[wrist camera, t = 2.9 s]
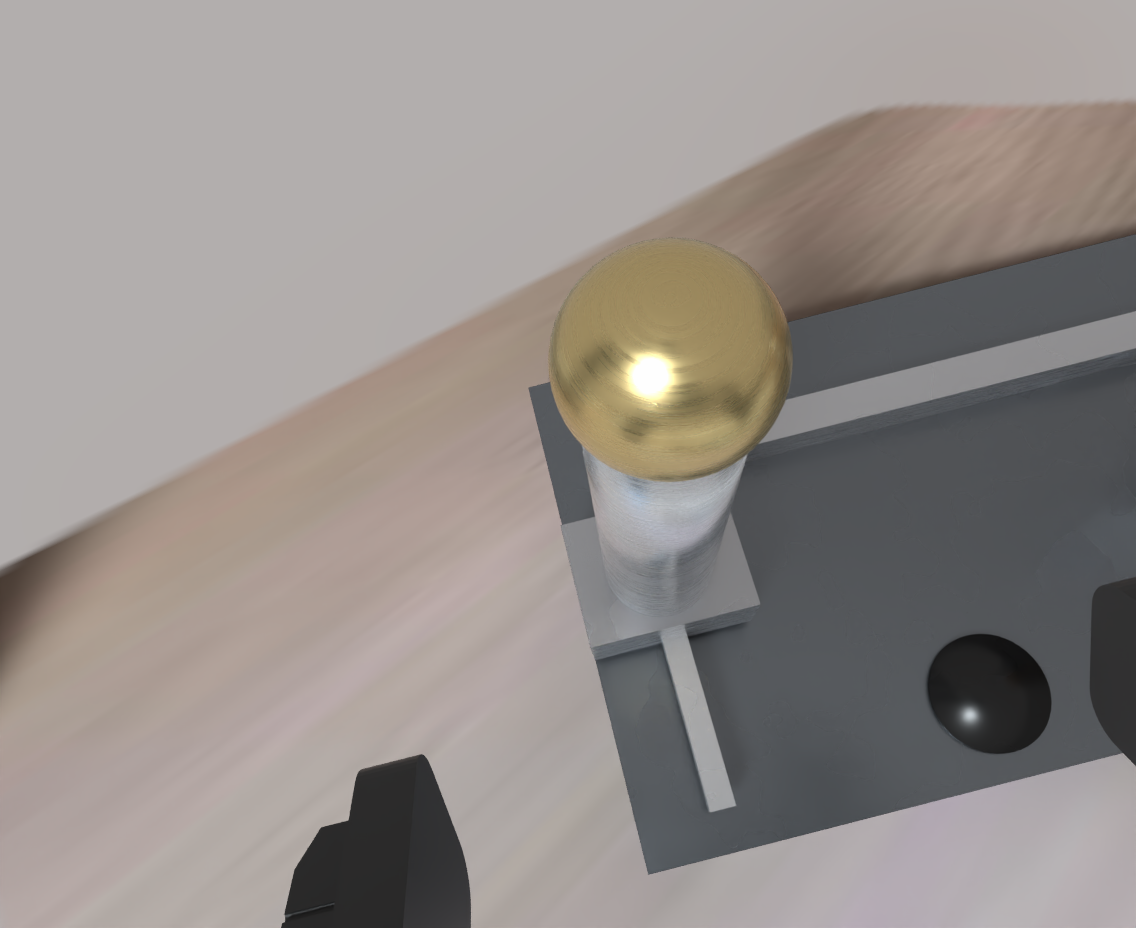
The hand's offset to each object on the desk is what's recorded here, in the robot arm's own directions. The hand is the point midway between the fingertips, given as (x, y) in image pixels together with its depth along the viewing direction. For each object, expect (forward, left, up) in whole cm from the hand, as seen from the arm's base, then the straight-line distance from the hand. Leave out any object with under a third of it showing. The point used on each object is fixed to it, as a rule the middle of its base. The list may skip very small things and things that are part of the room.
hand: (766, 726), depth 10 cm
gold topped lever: (0, +2, -11) cm, 11 cm away
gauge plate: (+9, +4, -13) cm, 17 cm away
